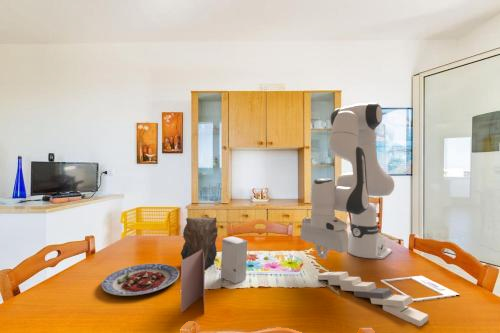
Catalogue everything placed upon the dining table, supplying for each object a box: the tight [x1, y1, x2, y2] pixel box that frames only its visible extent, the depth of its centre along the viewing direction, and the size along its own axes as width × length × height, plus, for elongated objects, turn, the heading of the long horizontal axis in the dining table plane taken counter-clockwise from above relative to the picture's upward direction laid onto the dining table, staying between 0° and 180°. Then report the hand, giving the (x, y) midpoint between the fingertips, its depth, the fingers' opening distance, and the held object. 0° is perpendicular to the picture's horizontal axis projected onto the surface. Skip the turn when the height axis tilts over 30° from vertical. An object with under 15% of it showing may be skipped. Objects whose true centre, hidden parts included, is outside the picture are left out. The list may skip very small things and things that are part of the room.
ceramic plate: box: [101, 263, 180, 297], centre depth 94 cm, size 26×26×3 cm
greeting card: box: [180, 249, 206, 313], centre depth 79 cm, size 11×7×15 cm, turn 157°
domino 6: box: [382, 305, 429, 327], centre depth 75 cm, size 2×5×10 cm
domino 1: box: [317, 271, 350, 281], centre depth 95 cm, size 2×5×10 cm
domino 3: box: [339, 281, 377, 292], centre depth 87 cm, size 2×5×10 cm
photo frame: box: [380, 275, 460, 303], centre depth 91 cm, size 15×1×18 cm
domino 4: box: [353, 287, 393, 299], centre depth 83 cm, size 2×5×10 cm
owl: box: [180, 216, 218, 271], centre depth 111 cm, size 13×13×20 cm
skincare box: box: [220, 236, 248, 284], centre depth 98 cm, size 8×6×15 cm
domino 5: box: [369, 293, 414, 307], centre depth 78 cm, size 2×5×10 cm
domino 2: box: [327, 276, 362, 286], centre depth 91 cm, size 2×5×10 cm
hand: (322, 257), depth 99 cm, fingers closed
